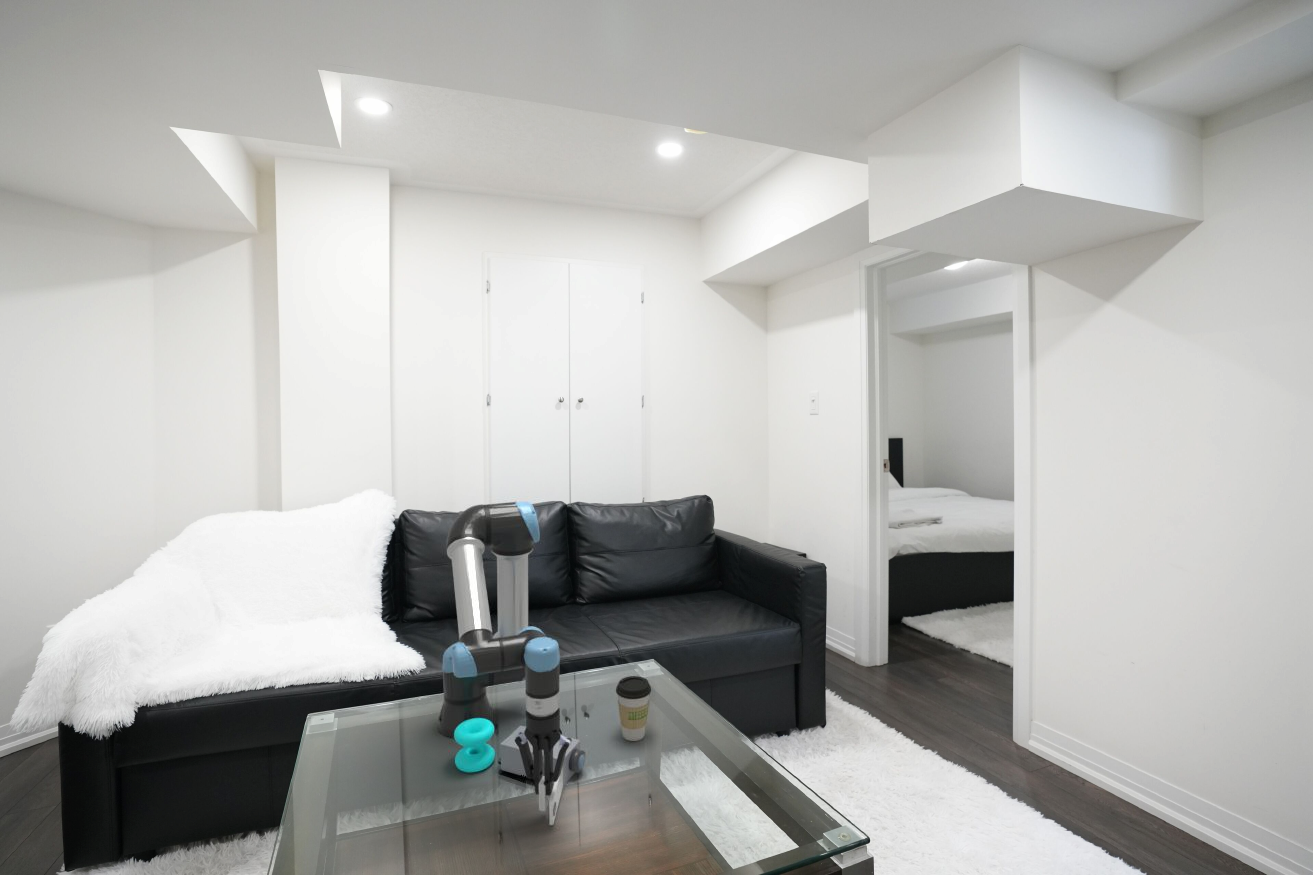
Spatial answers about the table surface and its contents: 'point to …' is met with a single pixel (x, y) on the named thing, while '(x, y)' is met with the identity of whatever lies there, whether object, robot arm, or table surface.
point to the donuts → (474, 745)
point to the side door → (555, 797)
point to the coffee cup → (633, 706)
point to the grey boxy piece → (571, 763)
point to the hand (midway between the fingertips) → (544, 806)
